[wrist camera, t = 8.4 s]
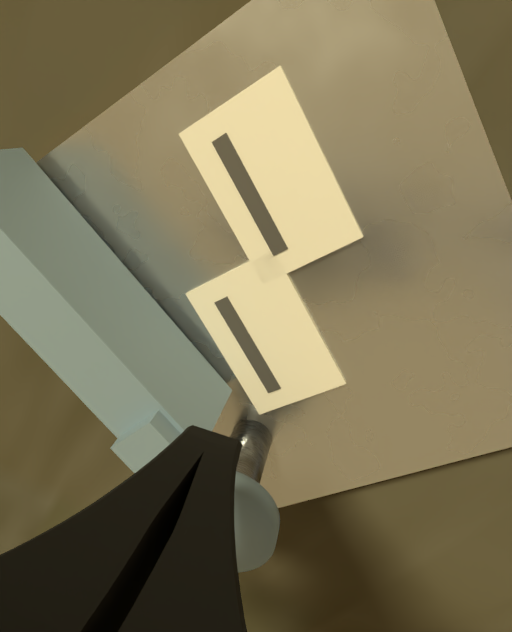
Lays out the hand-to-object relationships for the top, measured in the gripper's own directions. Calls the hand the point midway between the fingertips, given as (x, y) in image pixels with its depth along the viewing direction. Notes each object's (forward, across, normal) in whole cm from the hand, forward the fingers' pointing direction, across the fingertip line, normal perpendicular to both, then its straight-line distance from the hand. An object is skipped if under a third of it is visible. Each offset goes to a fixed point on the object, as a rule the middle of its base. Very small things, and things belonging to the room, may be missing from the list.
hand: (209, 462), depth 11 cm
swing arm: (+7, +5, +1) cm, 8 cm away
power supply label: (+7, +1, -6) cm, 9 cm away
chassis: (+8, -1, -2) cm, 9 cm away
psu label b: (+7, 0, 0) cm, 7 cm away
